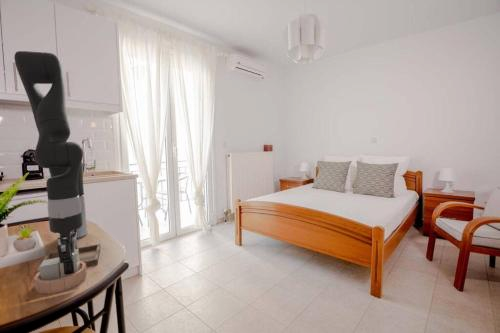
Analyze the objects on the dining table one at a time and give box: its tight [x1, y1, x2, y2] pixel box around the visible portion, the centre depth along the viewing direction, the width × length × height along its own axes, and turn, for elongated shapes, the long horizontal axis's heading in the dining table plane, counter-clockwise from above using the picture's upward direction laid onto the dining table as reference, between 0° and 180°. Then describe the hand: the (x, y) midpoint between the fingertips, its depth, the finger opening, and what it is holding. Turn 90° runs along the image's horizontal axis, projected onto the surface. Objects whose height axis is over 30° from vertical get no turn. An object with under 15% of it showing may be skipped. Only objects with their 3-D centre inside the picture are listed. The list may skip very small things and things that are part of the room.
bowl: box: [33, 261, 88, 294], centre depth 71 cm, size 12×12×4 cm
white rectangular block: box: [59, 249, 80, 278], centre depth 72 cm, size 4×4×6 cm
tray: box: [35, 243, 101, 275], centre depth 83 cm, size 14×16×2 cm
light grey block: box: [39, 258, 61, 281], centre depth 70 cm, size 4×4×6 cm
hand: (70, 269), depth 72 cm, fingers closed on white rectangular block, 3 cm apart
